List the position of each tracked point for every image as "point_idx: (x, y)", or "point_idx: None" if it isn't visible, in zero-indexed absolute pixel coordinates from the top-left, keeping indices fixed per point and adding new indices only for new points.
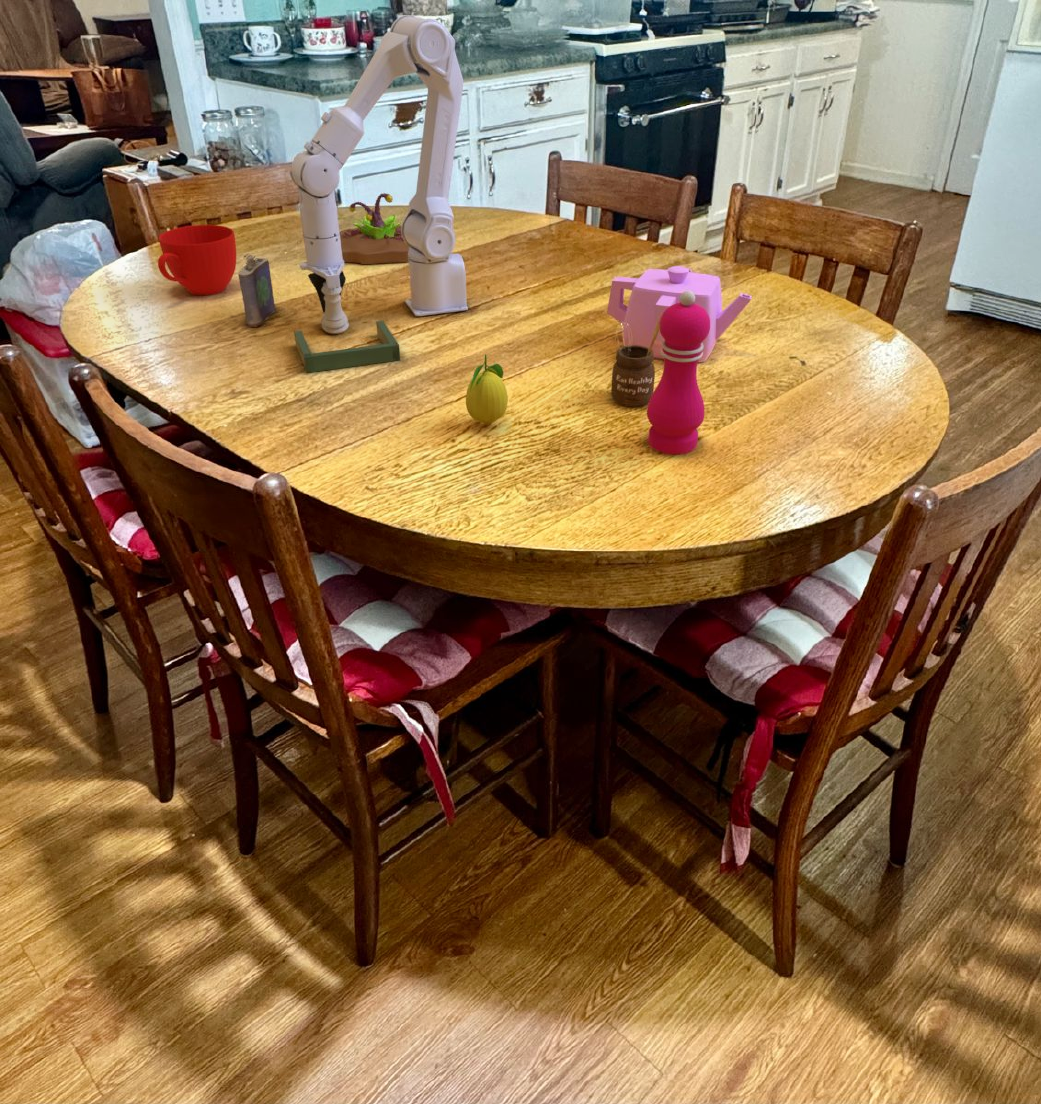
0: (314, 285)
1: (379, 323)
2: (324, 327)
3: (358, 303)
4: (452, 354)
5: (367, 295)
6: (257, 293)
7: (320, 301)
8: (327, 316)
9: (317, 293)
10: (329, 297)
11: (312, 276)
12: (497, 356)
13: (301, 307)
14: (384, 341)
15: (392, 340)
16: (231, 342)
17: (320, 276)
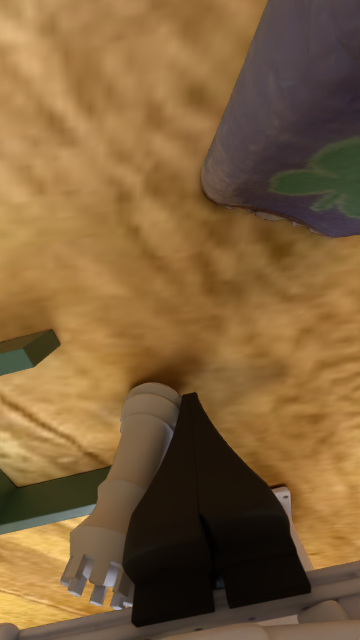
0: (131, 518)
1: None
2: (139, 390)
3: (311, 420)
4: (51, 542)
5: (352, 430)
6: (295, 162)
7: (184, 429)
8: (126, 425)
9: (211, 440)
10: (93, 510)
11: (198, 547)
12: (52, 574)
13: (333, 308)
14: (54, 494)
15: (8, 528)
16: (61, 105)
17: (192, 570)
